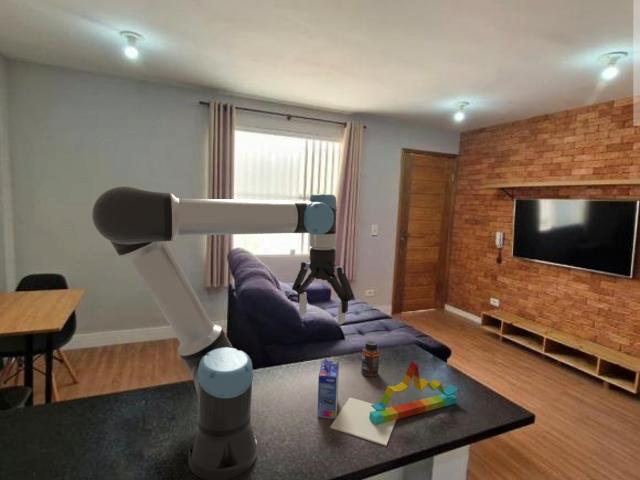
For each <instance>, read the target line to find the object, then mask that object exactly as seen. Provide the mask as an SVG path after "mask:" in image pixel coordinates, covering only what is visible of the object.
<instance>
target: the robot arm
mask: <svg viewBox="0 0 640 480" xmlns="http://www.w3.org/2000/svg"><path fill="white" fill-rule="evenodd" d="M337 208H338V207H337V198H336V196H335V195H334V194H331V193H328V194H327V193H326V194H324V193H323V194H322V193H320V194H319V193H317V194H316V193H312V194H311V195H310V199H309V200H263V199H262V200H261V199H260V200H255V199H226V198H225V199H223V198H221V199H219V198H217V199H216V198H215V199H213V198H184V197H183V198H180V197H179V198H178V197H176V196H175V195H174V194H173V193H171V192H160V191H159V192H157V191H149V190H143V189H139V188H135V187H133V186H117V187H114V188H110V189H108V190H106V191H104V192H103V193H102V194H100V195H99V196H98V198H97V199H95V203H94V204H93V208H92V214H91V216H92V222H93V225H94V226H95V229H96V230H97V231H98V233H99V234H100V235H101V236H102V237H103V238H105V239H107V240H108V241H109V242H110V243H111V245H112V246H113V248H114V250H115V251H116V253H117V254H118V256H119V257H121V258H125V259H128V260H130V261H131V263H132V265H133V266H134V268H135V270H136V271H137V273H138V275H139V276H140V277H141V279H142V281H143V283H144V285H145V286H146V288H147V290H148V291H149V293H150V295H151V297H152V298H153V300H154V301H155V302H156V305H157V306H158V308H159V309H160V311H161V313H162V314H163V317H164V318H165V319H166V321H167V323H168V325H169V326H170V328H171V330H172V332H174V335H175V336H176V338H177V339H178V341H179V346H178V348H177V353H178V354H179V356H180V357H181V359H182V361H183V363H184V364H185V366H186V368H187V369H188V371H189V373H190V375H191V378H192V381H193V383H194V386H195V391H196V393H197V425H196V429H195V432H194V435H193V438H192V440H191V443H190V445H189V449H188V468H189V469H190V471H191V473H193V474H194V475H195V476H196V477H198V478H200V479H203V480H231V479H234V478H237V477H239V476H241V475H243V473H245V472H247V471H248V470H250V468H251V467H252V466H253V465H254V463H255V461H256V459H257V454H258V441H257V437H256V435H255V433H254V429H253V426H252V421H251V416H252V414H251V413H252V390H253V379H254V378H253V377H254V370H253V369H254V368H253V362H252V359H251V358H250V356H249V355H248V354H247V353H246V352H245V351H243V350H241V349H240V350H238V349H237V348H235V347H233V345H232V343H231V342H230V340H229V338H228V337H227V335H226V333H225V331H224V329H223V328H222V326H221V325H220V324H217V323H213V322H212V321H211V319H210V317H209V315H208V313H207V311H206V310H205V307H204V306H203V304H202V303H201V301H200V299H199V297H198V296H197V293H196V291H195V290H194V288H193V285H191V282H190V281H189V279H188V278H187V275H186V274H185V272H184V270H183V268H182V267H181V265H180V262H179V261H178V259H177V257H176V255H175V254H174V252H173V251H172V248H171V246H170V245H169V243H168V242H174V240H175V239H176V238H177V237H180V236H181V237H183V236H184V237H185V236H221V235H222V236H223V235H224V236H225V235H229V236H230V235H259V234H260V235H264V234H265V235H266V234H267V235H270V234H309V247H310V249H309V261H310V262H309V261H308V260H305V261H302V262H301V263H300V269H299V271H298V273H297V275H296V276H297V277H296V278H295V281H294V283H293V285H292V287H291V290H292V291H295V292H296V293H297V304H298V305H299V311H298V312H299V313H298V314H299V316H303V315H305V314H307V307H308V306H307V302H308V301H307V297H308V295H307V294H308V293H307V292H306V290H307V289H308V287H310V285H311V284H312V283H313V281H314V280H322V281H327V283H329V284H330V286H331V287H332V289H333V290H334V292H335V293H336V295H337V297H338V298H339V299H340V301H338V306H337V307H338V308H337V309H338V310H337V312H338V313H337V315H338V316H337V325H343V324H345V322H346V314H347V313H348V309H349V302H351V301H353V300H354V299H355V294H354V292H353V290H352V287H351V285H350V282H349V278H348V277H347V274H346V267H345V266H344V265H341V266H336V264H335V263H336V248H335V247H336V246H337V245H336V242H337V240H336V239H337V211H338V209H337ZM309 269H310V273H309V274H308V276H307V277H306V275H307V273H308V270H309ZM305 278H306V279H305ZM304 279H305V280H304Z"/></svg>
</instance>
